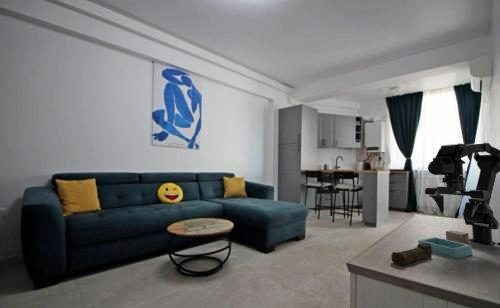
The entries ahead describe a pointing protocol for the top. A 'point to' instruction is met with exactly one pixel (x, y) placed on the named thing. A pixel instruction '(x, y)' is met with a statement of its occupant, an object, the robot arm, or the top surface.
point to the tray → (448, 247)
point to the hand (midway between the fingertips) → (456, 214)
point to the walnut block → (457, 236)
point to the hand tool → (412, 254)
